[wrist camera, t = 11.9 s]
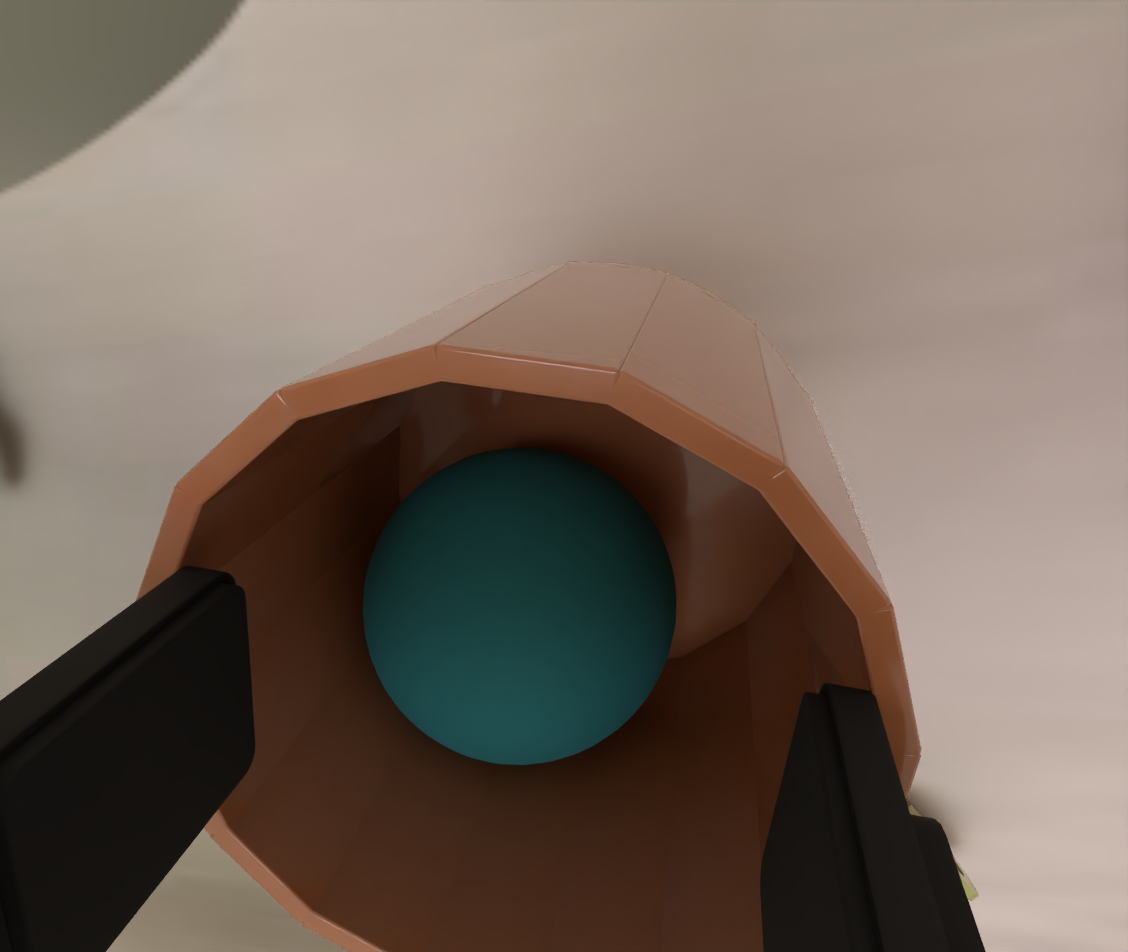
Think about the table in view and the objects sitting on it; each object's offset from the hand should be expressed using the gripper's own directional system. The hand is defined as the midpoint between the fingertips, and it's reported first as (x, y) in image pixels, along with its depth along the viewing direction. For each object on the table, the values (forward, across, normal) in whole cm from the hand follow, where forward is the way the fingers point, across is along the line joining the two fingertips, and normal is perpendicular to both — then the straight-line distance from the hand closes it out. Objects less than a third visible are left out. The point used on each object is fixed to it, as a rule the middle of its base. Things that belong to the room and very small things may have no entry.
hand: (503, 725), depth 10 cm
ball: (+5, +1, +1) cm, 5 cm away
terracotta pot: (+9, 0, 0) cm, 9 cm away
